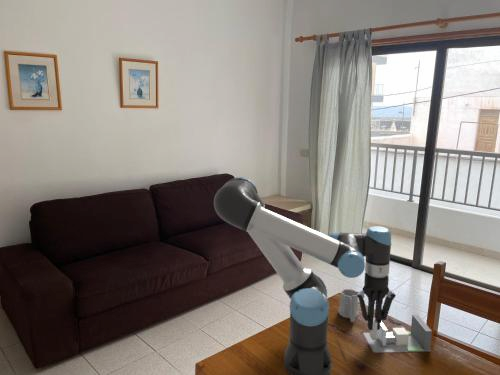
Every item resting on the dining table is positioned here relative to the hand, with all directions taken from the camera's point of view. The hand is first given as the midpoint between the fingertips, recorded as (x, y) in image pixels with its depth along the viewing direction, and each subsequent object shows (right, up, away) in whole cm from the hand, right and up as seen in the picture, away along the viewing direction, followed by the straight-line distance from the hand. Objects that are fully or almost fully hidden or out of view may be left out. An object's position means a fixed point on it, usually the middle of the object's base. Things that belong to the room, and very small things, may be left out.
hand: (373, 337), depth 131 cm
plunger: (+5, -1, 0) cm, 5 cm away
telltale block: (+10, -2, +1) cm, 10 cm away
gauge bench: (+8, -3, +1) cm, 9 cm away
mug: (-4, 0, +17) cm, 17 cm away
